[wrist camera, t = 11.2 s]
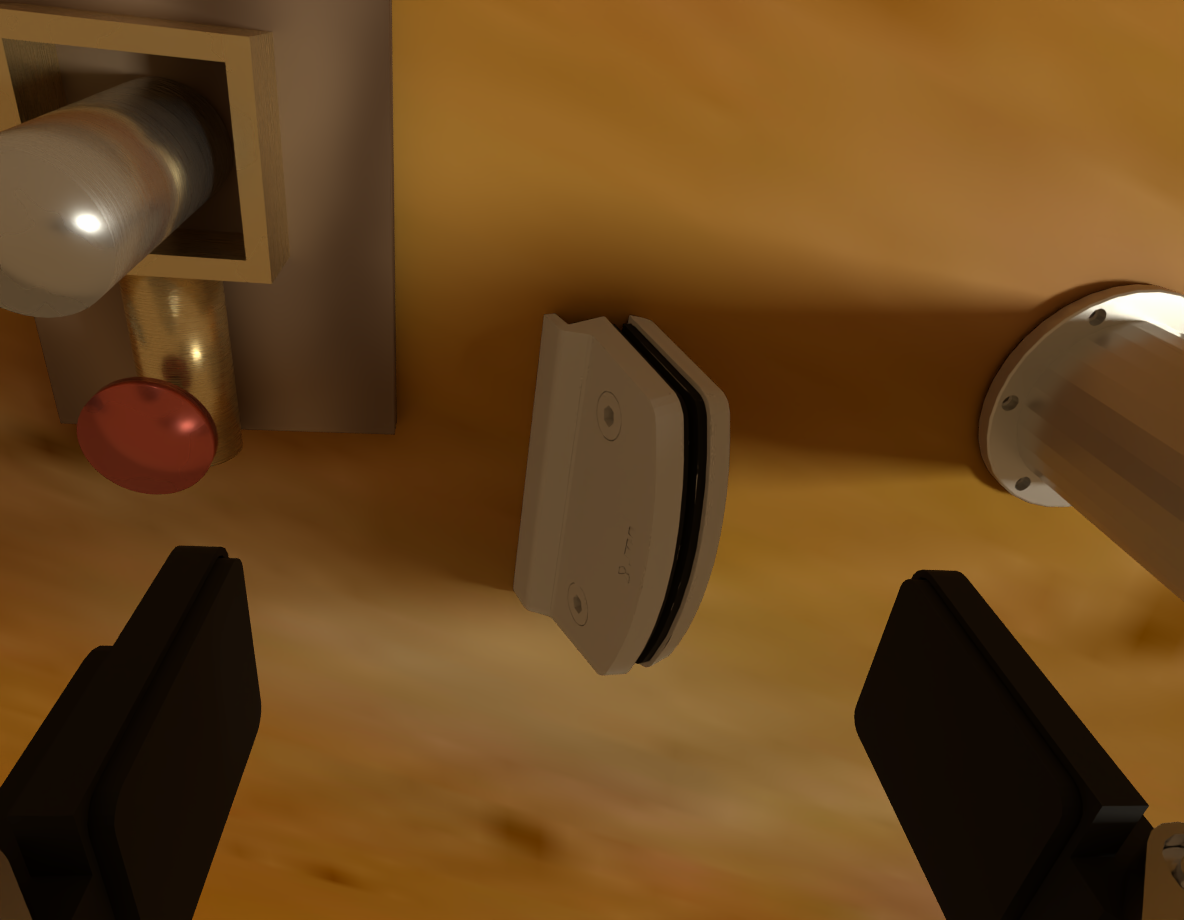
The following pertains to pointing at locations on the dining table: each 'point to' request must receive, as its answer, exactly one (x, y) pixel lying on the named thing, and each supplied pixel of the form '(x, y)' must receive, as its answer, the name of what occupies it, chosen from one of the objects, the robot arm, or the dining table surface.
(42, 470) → the dining table surface
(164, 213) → the beige cylindrical canister
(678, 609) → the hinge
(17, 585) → the dining table surface
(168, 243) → the square socket board
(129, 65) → the base board
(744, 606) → the dining table surface
